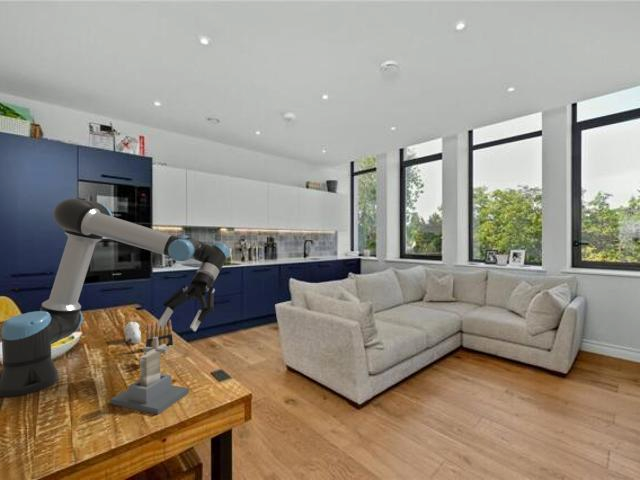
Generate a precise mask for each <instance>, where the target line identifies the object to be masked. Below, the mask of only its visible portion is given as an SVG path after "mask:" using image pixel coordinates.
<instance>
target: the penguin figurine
mask: <svg viewBox="0 0 640 480" xmlns="http://www.w3.org/2000/svg"><path fill="white" fill-rule="evenodd" d="M123 330H124V334H125V341H124V342H128V341H129V340H131V341H129V342H131V344H135V345H137V344H139V343H140V342H141V340H142V332H141V329H140V324H139V323H138V322H136V321H129V322H128V323H127V324H125V327H124V328H123Z"/></svg>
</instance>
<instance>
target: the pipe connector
mask: <svg viewBox="0 0 640 480" xmlns="http://www.w3.org/2000/svg"><path fill="white" fill-rule="evenodd" d="M153 351H157V352H160V354H167V353H169V348H168V347H166V344H162V345H160V346H158V337H153V347H146V346H143V348H142V352H144V353H143V356H144V355H146V354H148V353H150V352H153Z"/></svg>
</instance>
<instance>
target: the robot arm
mask: <svg viewBox="0 0 640 480" xmlns="http://www.w3.org/2000/svg"><path fill="white" fill-rule="evenodd" d="M52 215H53V221H54V222H55V223H56V224H57V225H58V226H59V228H61V229H63V230H64V234H65V235H66V236H67V240H66V244H65V247H64V250H63V253H62V256H61V260H60V261H59V262H60V263H59V266H58V270H57V272H56V276H55V279H54V282H53V285H52V288H51V292H50V294H49V297H48V298H49V299H46V300H45V301H43V302H42V303H41V306H40V308H39V309H40V310H39V311H37V310H35V311H28V312H26V313H21V314H18V315H14V316H12V317H10V318H8V319H6V320H5V321H4V322H3V324H2V328H1V332H0V336H1V351H2V353H1V355H2V356H1V357H2V369H1V372H0V396H2V397H1V398H12V397H19V396H25V395H27V394H32V393H35V392H37V391H40V390H41V391H42V390H43V389H45V388H48V387H51V386H52V385H53V384H55V383H57V382H58V380H59V370H58V369H57V366H56V364H55V362H54V360H53V358H52V345H53V344H55V343H57V342H59V341H61V340H63V339H66V338H68V337H70V336H71V335H73V334H74V333H75V332H76V331H78V330H79V328H81V326H82V324H83V319H84V316H83V313H82V311H81V308H82V305H81V304H80V302H79V299H80V296H81V292H82V290H83V286H84V283H85V280H86V277H87V273H88V271H89V266H90V264H91V259H92V256H93V254H94V250H95V248H96V244H97V243H99V242H101V241H102V240H103V238H106V239H109V240H112V241H116V242H120V243H123V244H126V245H129V246H134V247H137V248H140V249H144V250H147V251H150V252H154V253H157V254H160V255H164V256H167V257H169V258H171V259H172V260H174V261H178V262H186V261H188V260H190V259H193V260H195V261H197V262H200V263H201V264H200V266H199V267H198V269H197V270H196V273H195V274H194V275H193V277H192V278H191V281H190V285H189V286H187V285H185V284H182V285H181V286H180V288H179V289H178V290H177V291H176V292H174V293H173V295H172V296H170V297H169V298H168V299H167V300H165V301H164V302H163V304H162V306H164V308H165V309H164V310H163V312H162V313H161V316H160V318H159V320H158V321H157V322H158V323H157V324H158V327H160V326H161V327H162V328H163V329H164V326H165V324H166V323H167V324H168V322H169V319H170V317H171V316H172V314H173V313H174V309H176V308H178V307H179V306H181V305H182V304H183V303H185V302H186V301H189V300H198V301H199V303H200V309H199V310H198V311H197V313H196V315H195V317H194V318H193V320H192V323H191V324H190V326H189V328H190V329H191V330H192V332H196V331H197V330H198V328H199V326H200V324H201V322H202V323H203V321H204V320H205V317H206V316H207V315H208V314H209V313H211V314H213V313H214V311H215V308H214V307H215V306H214V305H215V304H214V303H215V294H216V289H215V288H214V287H213V285H214V283H215V281H216V279H217V277H218V275H219V274H220V271H221V270H222V269H223V266H224V265H225V263H226V261H227V259H228V257H229V255H230V249H229V248H228V246H227V245H225V244H224V243H221V242H214V243H213V245H210V244H207V243H205V242H203V241H201V240H198V239H196V238H193V237H192V236H189V235H185V234H183V235H181V236H180V237H179V236H175V235H173V234H168V233H165V232H162V231H160V230H156V229H153V228H149V227H147V226H143V225H142V224H138V223H137V224H136V223H133V222H131V221H128V220H124V219H121V218H117V217H115V216H113V213H112V212H111V210H110V208H108V206H106V205H104V204H102V203H100V202H97V201H93V200H85V199H80V198H69V199H64V200H61V202H59V203H57V205H55V208H54V210H53V214H52ZM205 295H207V298H206V296H205ZM206 299H207V301H206Z"/></svg>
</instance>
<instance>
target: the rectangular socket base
mask: <svg viewBox="0 0 640 480" xmlns="http://www.w3.org/2000/svg"><path fill="white" fill-rule="evenodd" d="M172 381H173V380H172V375H171V374H167V373H162V372H160V380H158V381H156V382H155V383H153V384H151V385H149V386H148V387H144V386H140V379H139V380H137V381H135V382H133V383H131V384H129V385H128V386H127V389H126V390H124V391H122V392H120V393H118V394H116V395H115V396H113V397H111V398H109V404H110V405H114V406H119V407H123V408H128V409H132V410H137V411H141V412H146V413H150V414H155V415H160V414H161V413H163V412H164V411H165V410H167V409H168V408H170V407H171V406H172V405H174V404H176V403H177V402H178V401H180V400H182V399H183V398H184V397H186V396H187V395H188V394H190V389H189V387H183V386H179V385H173V384H172V383H173V382H172Z"/></svg>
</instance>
